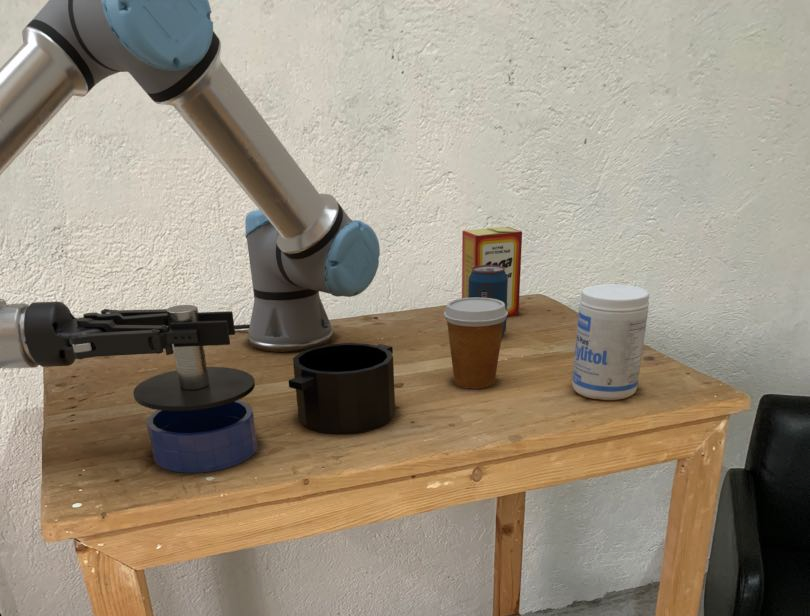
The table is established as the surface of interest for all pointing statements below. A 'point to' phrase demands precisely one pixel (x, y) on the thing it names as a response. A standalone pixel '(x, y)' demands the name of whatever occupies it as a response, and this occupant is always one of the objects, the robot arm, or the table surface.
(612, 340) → the supplement tub
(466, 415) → the table surface
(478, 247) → the baking soda box
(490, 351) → the disposable coffee cup
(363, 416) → the pot
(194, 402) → the lid
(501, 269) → the soda can
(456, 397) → the table surface
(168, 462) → the pan
